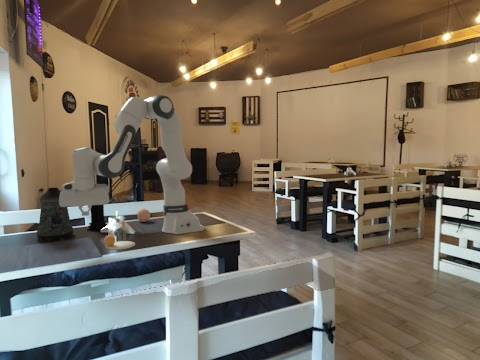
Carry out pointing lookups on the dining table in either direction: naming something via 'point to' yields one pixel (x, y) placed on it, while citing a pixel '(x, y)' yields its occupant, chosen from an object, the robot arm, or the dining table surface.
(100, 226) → the chess piece
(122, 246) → the cream disc
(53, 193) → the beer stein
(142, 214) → the toy ball
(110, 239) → the ball
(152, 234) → the dining table surface
